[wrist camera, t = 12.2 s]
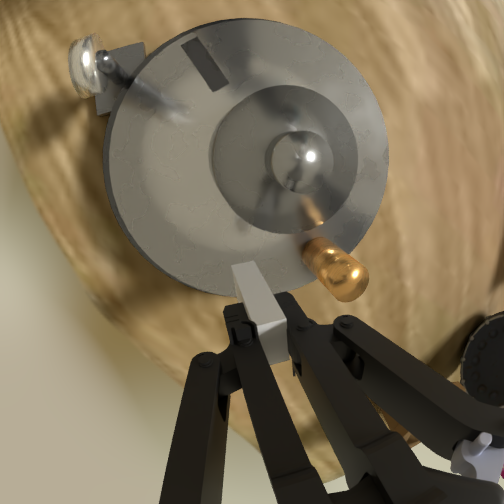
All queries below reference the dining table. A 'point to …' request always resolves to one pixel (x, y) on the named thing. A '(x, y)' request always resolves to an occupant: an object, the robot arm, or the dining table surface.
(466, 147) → the dining table surface
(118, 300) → the dining table surface
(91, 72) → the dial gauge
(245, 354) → the robot arm
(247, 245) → the turntable
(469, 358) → the dark decorated bowl
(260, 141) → the cover
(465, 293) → the dining table surface
